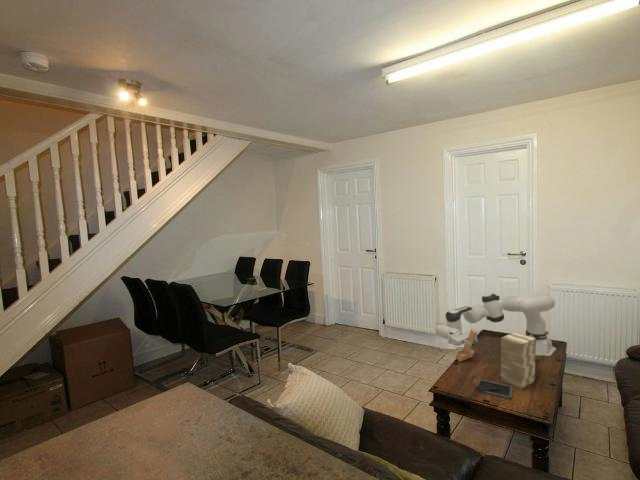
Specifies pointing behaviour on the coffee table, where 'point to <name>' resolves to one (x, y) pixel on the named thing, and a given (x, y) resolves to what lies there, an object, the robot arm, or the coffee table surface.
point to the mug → (536, 366)
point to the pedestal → (518, 359)
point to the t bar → (467, 347)
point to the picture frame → (494, 389)
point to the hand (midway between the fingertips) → (474, 342)
